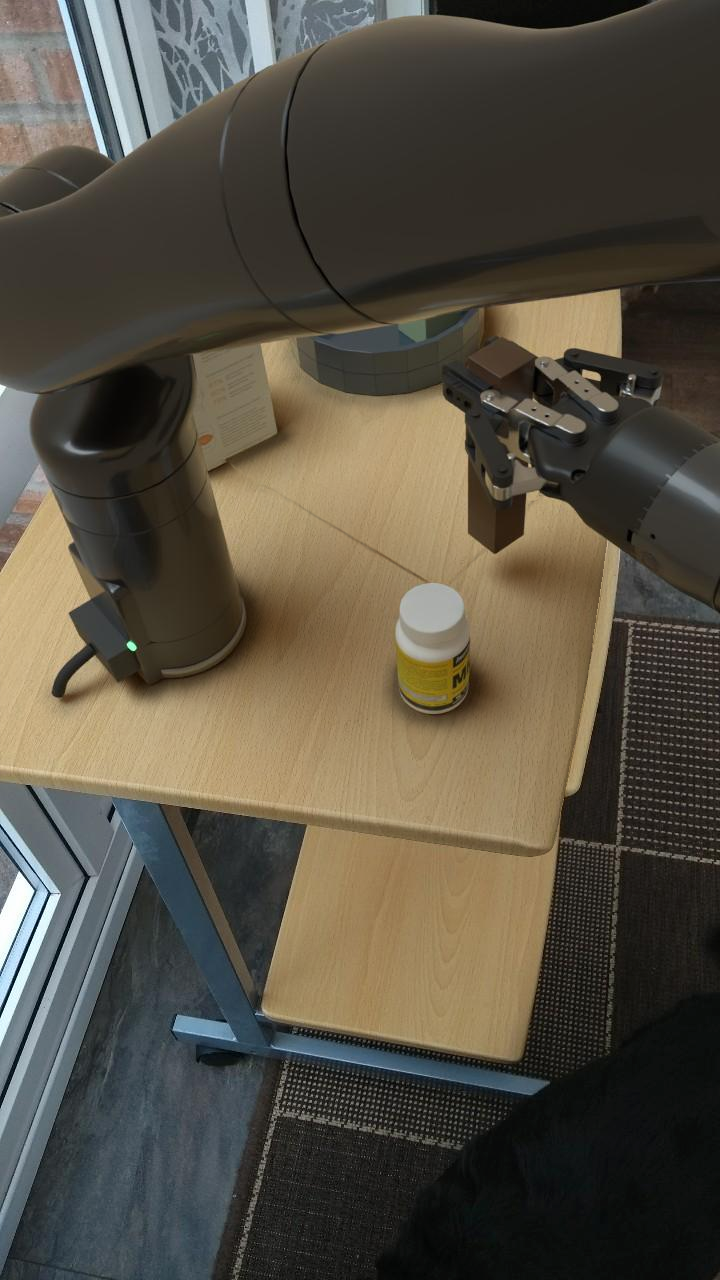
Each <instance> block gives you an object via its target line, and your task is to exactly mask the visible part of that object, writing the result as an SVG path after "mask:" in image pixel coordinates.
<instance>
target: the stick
mask: <svg viewBox="0 0 720 1280" xmlns="http://www.w3.org/2000/svg"><path fill="white" fill-rule="evenodd" d="M510 341H511V340H510ZM510 341H509V339H507V338H506V337H504V336H502V337H499V339H498V340H496V341H494V342H493V343H491V344H489V345H488V346H486V347H484V348H481V349H479V350H478V352H476V353H474V354H473V355H471V356H469V357H468V364H467V368H468V370H469V371H471V372H472V373H474V374H475V375H477V376H478V377H480V378H481V379H483V380H484V381H486V382H487V383H489V384H490V385H492V389H493V390H497V391H499V392H501V393H503V394H505V395H507V396H510V397H512V398H514V399H516V400H518V401H521V400H522V399H524V398H529V399H531V400H533V401H534V399H533V388H534V373H535V357H534V356H533V355H531V354H530V353H528V352H526V351H525V350H523V349H524V348H523V349H522V348H520V347H518V346H517V345H515V344H514V343H512V342H510ZM501 420H503V421H505V422H508V420H507V419H506V418H504V417H502V416H501ZM508 423H509V422H508ZM500 443H501V442H500ZM501 444H502V446H503V448H504V450H505V452H506V454H508V453H510V452H509V450H508V448H507V446H506V445H505V444H503V443H501ZM515 459H517V460H518V461H520V463H521V464H522V465H524V466H526V467H529V465H530V464H529V463H527V462H525V461H523V460H521V459H519V458H517V457H516V456H515ZM527 494H528V493H525V494H521V495H516V496H513V497H512V505H511V506H510V507H509V508H507V509H505V510H498V509H495V508H494V507H492V505H491V504H490V501H489V499H488V497H487V495H486V493H485V491H484V489H483V486H482V484H481V482H480V480H479V478H478V476H477V474H476V472H475V469H474V467H473V465H472V463H471V461H470V459H469V457H468V456H467V534H468V535H469V536H470V537H472V538H473V539H474V540H475V541H477V542H478V543H479V544H481V545H482V546H483V547H484V548H486V549H487V550H488V551H489V552H491V553H492V554H493V555H496V554H498V553H499V552H501V551H502V550H504V549H505V548H507V547H508V546H510V545H511V544H512V543H514V542H516V541H518V540H519V539H520V538H521V537H523V536H524V534H525V522H526V508H527V507H526V506H527Z"/></svg>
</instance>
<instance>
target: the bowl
mask: <svg viewBox="0 0 720 1280" xmlns="http://www.w3.org/2000/svg"><path fill="white" fill-rule="evenodd" d="M484 334H485V308H479V309H472V310H466V311H461V320H460V321H459V322H458V323H457V324H456V325H454V326H453V327H451V328H449V329H447V330H446V331H444V332H442V333H440V334H439V335H437V336H435V337H433V338H430V339H426V340H423V341H420V342H415V341H413V340H412V339H411V338H409V337H408V336H406V335H405V334H404V333H402V332H401V331H399V329H398V324H397V325H391V326H384V327H378V328H372V329H366V330H359V331H353V332H347V333H340V334H329V335H319V336H308V337H300V338H292V339H288V340H289V346H290V351H291V353H292V356H293V357H294V359H295V361H296V362H297V364H298V366H299V367H300V369H301V370H302V371H304V372H305V373H306V374H307V375H309V376H310V377H312V378H313V379H314V380H316V381H317V382H318V383H320V384H323V385H325V386H328V387H331V388H333V389H336V390H339V391H342V392H345V393H349V394H357V395H368V396H374V397H375V396H377V397H379V396H391V395H401V394H409V393H410V394H411V393H413V392H417V391H420V390H423V389H426V388H430V387H433V386H436V385H439V384H440V383H442V367H443V365H445V364H447V363H448V362H450V361H452V360H456V361H457V362H459V363H460V364H462V365H463V366H465V367H466V366H468V357H469V356H471V355H473V354H474V353H476V352H478V351H479V350H480V346H481V344H482V340H483V337H484Z"/></svg>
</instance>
